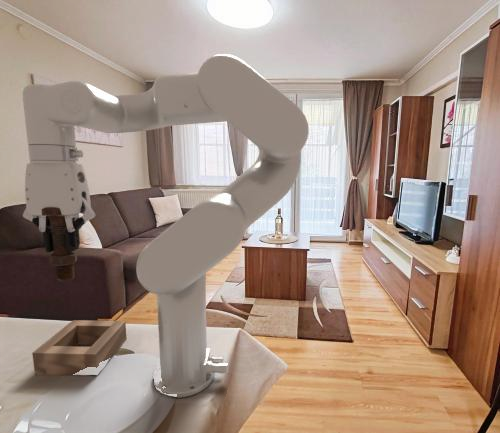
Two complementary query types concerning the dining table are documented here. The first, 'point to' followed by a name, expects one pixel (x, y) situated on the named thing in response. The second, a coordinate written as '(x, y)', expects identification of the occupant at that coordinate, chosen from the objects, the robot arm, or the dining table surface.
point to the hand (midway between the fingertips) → (62, 249)
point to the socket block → (78, 358)
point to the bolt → (60, 245)
